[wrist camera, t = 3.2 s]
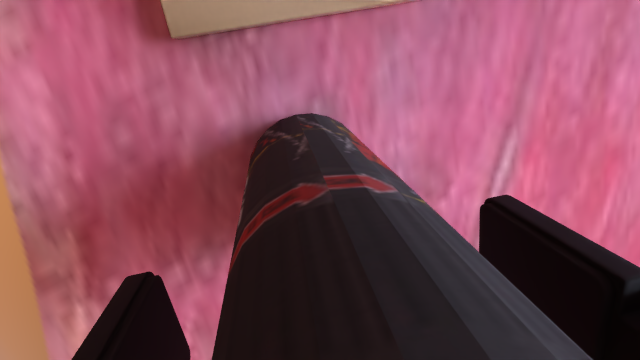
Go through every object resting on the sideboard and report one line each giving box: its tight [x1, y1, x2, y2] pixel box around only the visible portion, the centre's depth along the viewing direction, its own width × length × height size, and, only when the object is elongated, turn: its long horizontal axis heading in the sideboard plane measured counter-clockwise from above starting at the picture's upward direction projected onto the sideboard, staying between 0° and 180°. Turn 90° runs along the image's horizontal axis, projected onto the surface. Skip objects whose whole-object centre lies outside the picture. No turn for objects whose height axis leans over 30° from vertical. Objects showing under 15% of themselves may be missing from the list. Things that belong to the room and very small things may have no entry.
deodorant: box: [212, 114, 593, 360], centre depth 10 cm, size 6×6×15 cm
